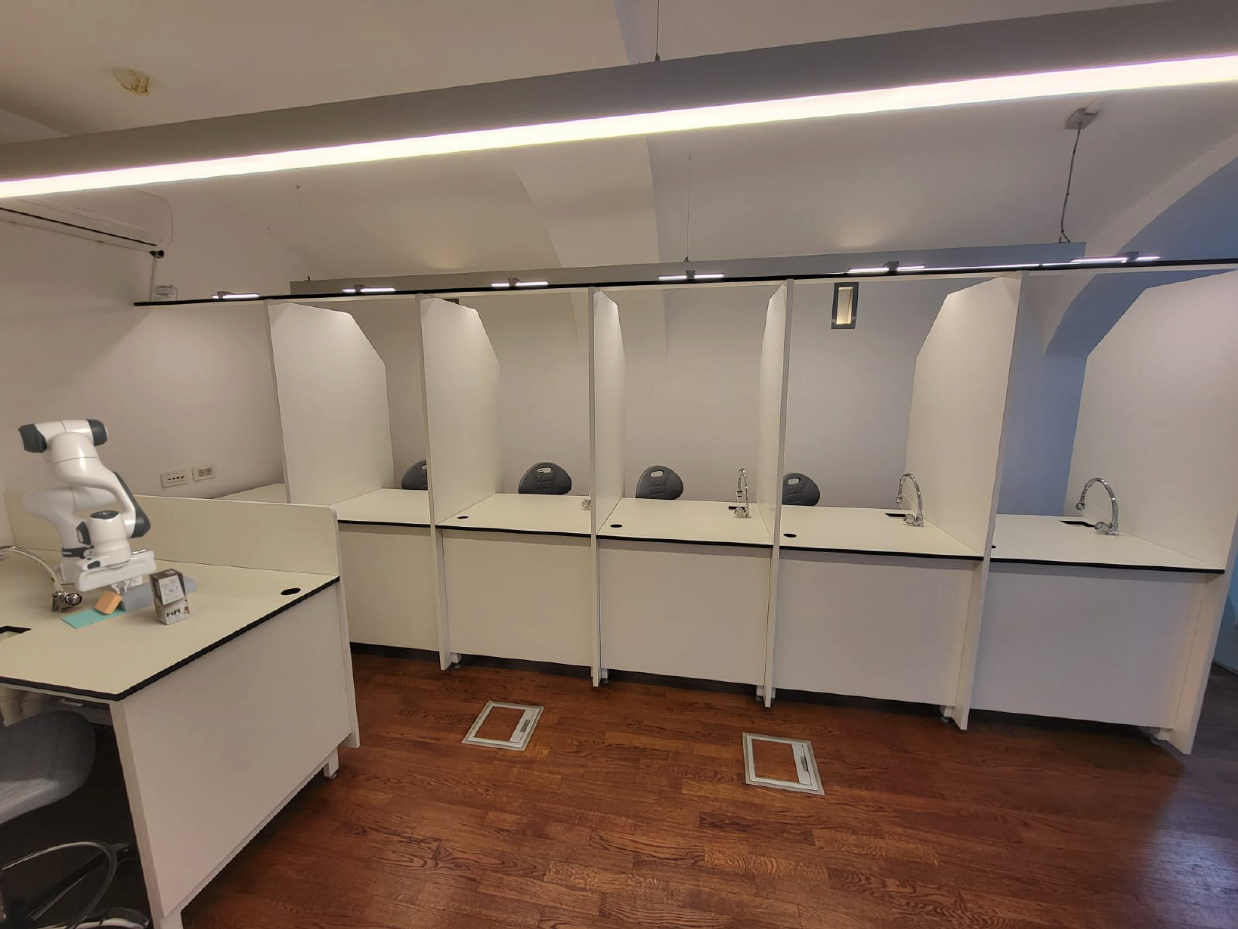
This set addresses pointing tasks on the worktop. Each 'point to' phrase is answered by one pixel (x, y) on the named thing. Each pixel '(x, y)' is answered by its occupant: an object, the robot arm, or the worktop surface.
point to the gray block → (146, 595)
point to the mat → (90, 617)
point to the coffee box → (169, 596)
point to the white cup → (131, 582)
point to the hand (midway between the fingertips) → (121, 593)
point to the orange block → (108, 602)
